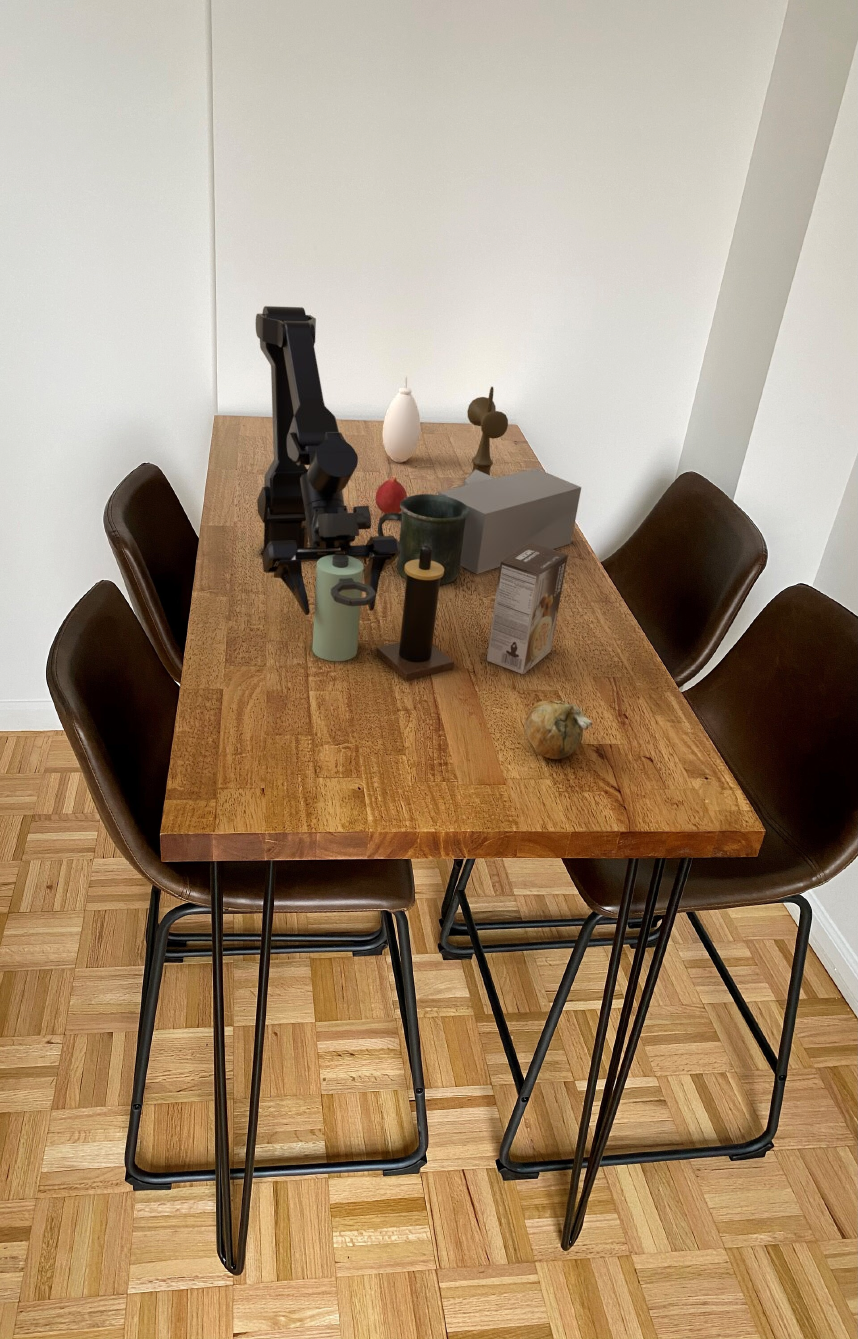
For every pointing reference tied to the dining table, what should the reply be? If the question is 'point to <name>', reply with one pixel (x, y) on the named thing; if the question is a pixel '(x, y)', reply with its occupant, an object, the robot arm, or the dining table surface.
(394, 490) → the onion
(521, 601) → the coffee box
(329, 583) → the mint green lidded canister
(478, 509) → the plain grey rectangular block
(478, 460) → the kendama
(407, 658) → the black cylinder with base
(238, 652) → the dining table surface
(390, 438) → the sauce bottle
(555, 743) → the onion
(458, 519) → the mug
